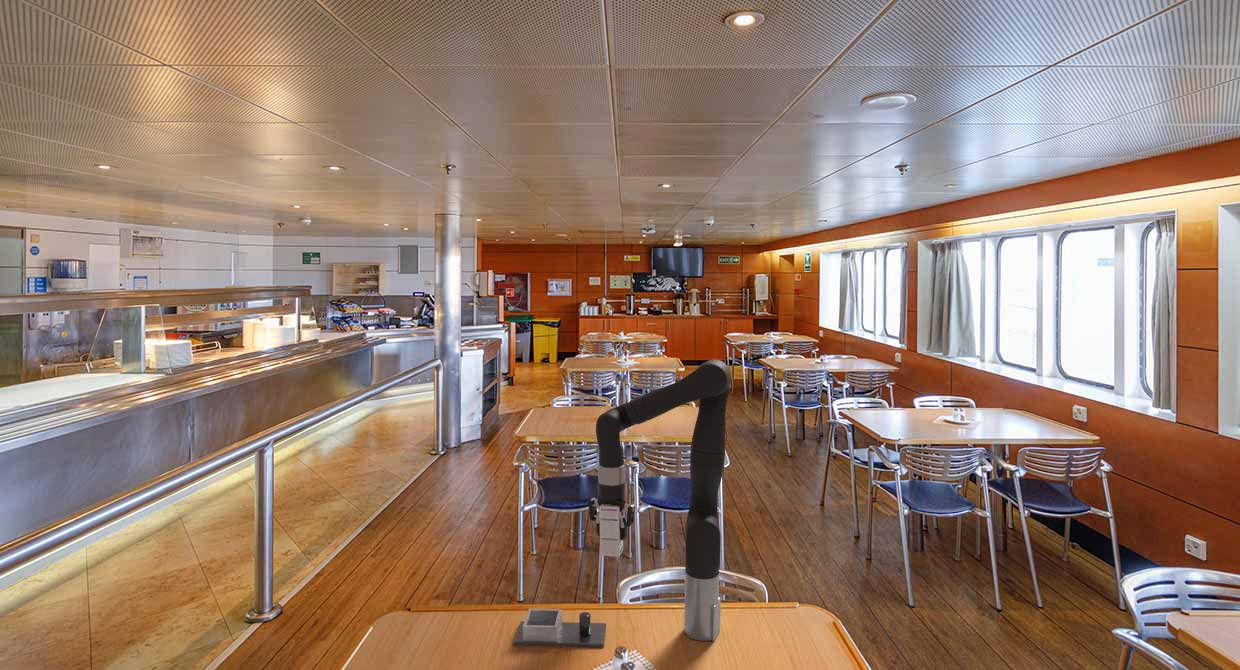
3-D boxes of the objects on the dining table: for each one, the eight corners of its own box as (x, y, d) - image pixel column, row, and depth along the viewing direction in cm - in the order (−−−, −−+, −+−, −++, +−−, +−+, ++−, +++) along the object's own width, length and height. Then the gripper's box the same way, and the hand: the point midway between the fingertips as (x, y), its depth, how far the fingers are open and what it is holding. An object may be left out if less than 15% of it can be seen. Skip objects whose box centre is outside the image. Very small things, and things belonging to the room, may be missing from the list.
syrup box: (619, 557, 176) (619, 507, 175) (599, 555, 177) (599, 505, 176) (623, 549, 182) (623, 500, 180) (603, 547, 183) (603, 498, 182)
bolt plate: (606, 626, 175) (606, 606, 175) (604, 647, 165) (604, 625, 165) (520, 624, 176) (520, 604, 176) (513, 645, 166) (513, 623, 166)
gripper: (640, 479, 178) (639, 536, 179) (594, 473, 184) (595, 528, 185) (629, 487, 171) (629, 546, 173) (582, 480, 177) (583, 537, 179)
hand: (611, 537), depth 179 cm, fingers closed on syrup box, 6 cm apart
